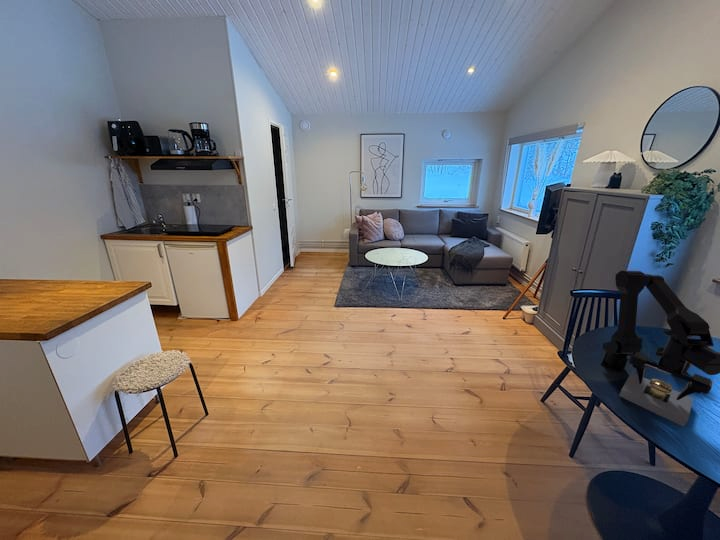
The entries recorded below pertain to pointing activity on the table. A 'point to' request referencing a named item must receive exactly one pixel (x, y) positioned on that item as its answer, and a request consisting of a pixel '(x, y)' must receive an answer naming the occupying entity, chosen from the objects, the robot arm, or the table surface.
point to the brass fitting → (659, 389)
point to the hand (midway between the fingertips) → (658, 391)
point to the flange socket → (657, 400)
